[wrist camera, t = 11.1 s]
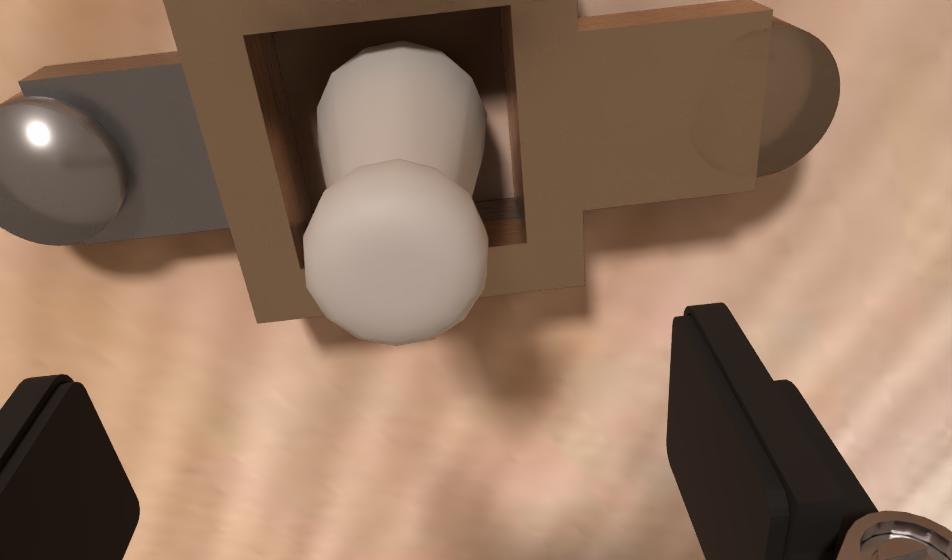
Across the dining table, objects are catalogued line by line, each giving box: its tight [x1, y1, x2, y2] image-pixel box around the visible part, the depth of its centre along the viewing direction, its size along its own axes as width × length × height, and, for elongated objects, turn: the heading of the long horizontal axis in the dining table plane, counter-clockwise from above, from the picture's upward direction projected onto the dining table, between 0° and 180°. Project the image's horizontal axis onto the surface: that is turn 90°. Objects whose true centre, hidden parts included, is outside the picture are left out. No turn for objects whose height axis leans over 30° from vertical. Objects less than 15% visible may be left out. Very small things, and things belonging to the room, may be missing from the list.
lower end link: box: [0, 6, 520, 246], centre depth 26 cm, size 20×12×3 cm, turn 96°
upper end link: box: [163, 0, 840, 324], centre depth 26 cm, size 20×12×4 cm, turn 96°
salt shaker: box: [303, 40, 488, 346], centre depth 22 cm, size 6×6×13 cm
